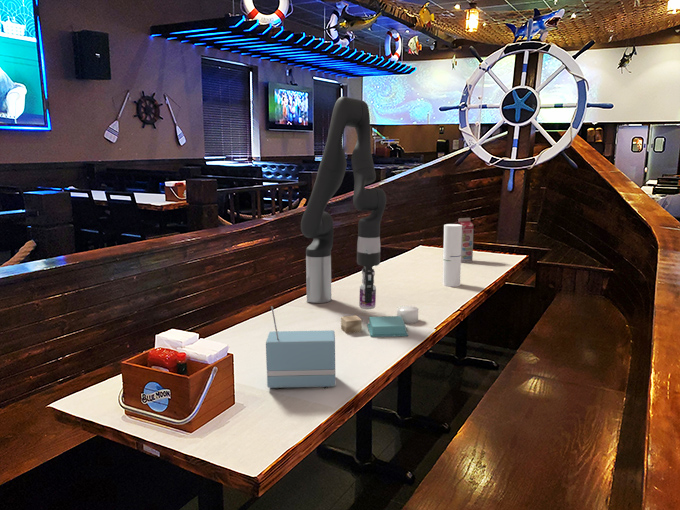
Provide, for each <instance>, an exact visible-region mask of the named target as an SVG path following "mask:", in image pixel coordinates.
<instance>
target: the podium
mask: <svg viewBox="0 0 680 510" xmlns="http://www.w3.org/2000/svg"><path fill="white" fill-rule="evenodd" d="M368 322H369V323H367V329H368V332H369V336H370V338H383V337H385V338H387V337H388V338H389V337H408V336H409V334H408V332H407V329H406V328H407V326H406V323H404V322H403V320H402V318H401V316H397V315H390V316H384V315H383V316H369V321H368Z"/></svg>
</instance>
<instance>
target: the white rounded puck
mask: <svg viewBox="0 0 680 510" xmlns="http://www.w3.org/2000/svg"><path fill="white" fill-rule="evenodd" d="M396 316H401V318H402V320H403V322H404V324H405V325H406V324H407V325H410V324H415V323H418V322H419V308H418V307H416V306H412V305H402V306H399V307H397V308H396Z"/></svg>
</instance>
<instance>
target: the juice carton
mask: <svg viewBox="0 0 680 510" xmlns="http://www.w3.org/2000/svg"><path fill="white" fill-rule="evenodd" d="M455 224H459V225H462V239H461V264H463V263H473V254H474V253H473V251H474V224H473V222H472V221H471V217H460V218H458V221H457V222H455Z"/></svg>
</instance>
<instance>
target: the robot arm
mask: <svg viewBox="0 0 680 510" xmlns="http://www.w3.org/2000/svg"><path fill="white" fill-rule="evenodd" d="M346 127H349V128H354V129H355V131H356V136H357V137H356V144H355V146H354V148H353V150H352V154H351V159H350V160H351V162H350V163H351V168H352V172H353V173H352V174H353V181H354V182H353V184H354V186H353V194H352V196H353V197H352V203H353V206H354V207H355V209H356V210H358V211H360V212H362V211H363V212H364V211H365V212H366V211H368V212H369V211H371V212H370V214H369V215H367V216H365V217H361V218H360V219H359V220H358V225H357V229H358V230H357V232H358V233H357V243H356V264H357V265H358V266H363V267H362V269H361V274H362V277H361V279H363V284H364V285H365V289H364V291H365V303H371V302H372V292H373V285H375V274H376V273H375V269H374V268H373V267H377V266H379V265H380V263H381V221H382V218H383V215H384V211H385V209H386V205H387V194H386V192H385V191H384V189H382V188H378V187H374V188H373V187H372V188H366V187H365V186H367V185H370V184H372V183H374V182H375V181H376V179H377V175H376V170H375V165H374V160H373V153H372V143H371V141H372V139H371V116H370V108H369V105H368V104H367V102H366V101H364V100H363V99H357V98H353V97H349V96H340V97H339V98H338V99H337V100H336V102H335V103H334V106H333V109H332V113H331V119H330V124H329V128H328V134H327V137H326V142H325V146H324V149H323V153H322V157H321V159H320V163H319V166H318V170H317V174H316V177H315V178H316V179H315V182H314V185H313V187H312V190H311V194H310V196H309V199H308V202H307V205H306V206H305V207H306V208H305V210H304V212H303V214H302V217H301V221H300V231H301V233H302V235H303V236H304V237H305V238H307V239H312V242H311V243H310V244H309V245H308V246H307V247H306V248H305V266H306V267H305V271H306V272H305V274H306V277H305V279H306V281H305V283H306V302H307V303H313V304H325V303H328V302H331V301H332V254H331V253H332V249H333V246H334V220H333V218H332V215H331V214H330V213H329V212H327V211H325V209H326V207H327V206H328V203H329V201H330V200H331V199H332V197H333V196H334V195H335V194H336V193H337V191H338V190H339V189H340V187H341V185H342V183H343V180H344V177H345V175H346V170H347V166H348V164H347V158H346V153H345V149H344V145H343V140H344V139H343V138H344V133H345V129H346ZM367 285H371V288H367Z"/></svg>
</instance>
